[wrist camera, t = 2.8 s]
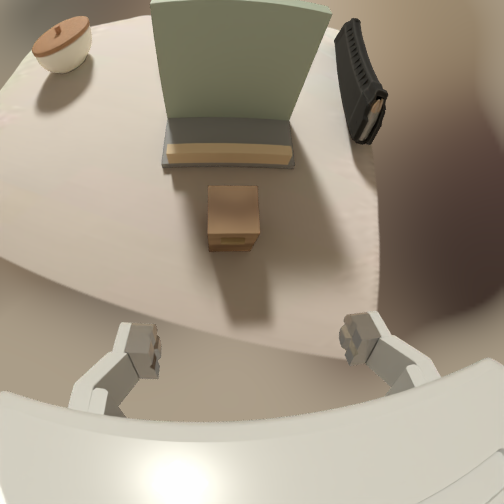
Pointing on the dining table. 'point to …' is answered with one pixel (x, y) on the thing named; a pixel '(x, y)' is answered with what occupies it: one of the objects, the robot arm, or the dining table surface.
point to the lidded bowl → (64, 45)
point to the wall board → (233, 77)
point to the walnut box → (232, 218)
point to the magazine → (358, 84)
